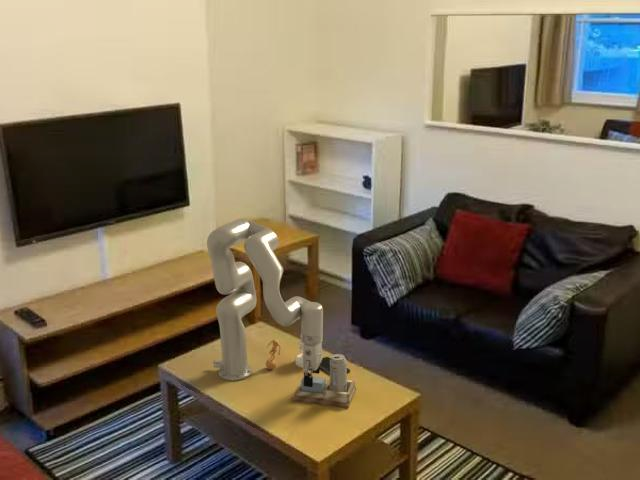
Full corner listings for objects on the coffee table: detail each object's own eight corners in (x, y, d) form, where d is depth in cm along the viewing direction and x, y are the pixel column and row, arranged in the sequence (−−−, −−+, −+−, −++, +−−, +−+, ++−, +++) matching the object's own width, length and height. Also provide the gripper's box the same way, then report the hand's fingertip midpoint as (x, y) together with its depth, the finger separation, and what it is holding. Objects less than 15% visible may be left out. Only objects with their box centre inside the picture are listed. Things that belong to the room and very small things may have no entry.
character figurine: (301, 355, 284) (301, 328, 281) (323, 360, 281) (322, 332, 277) (291, 365, 277) (291, 337, 273) (313, 370, 273) (313, 342, 269)
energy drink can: (349, 397, 252) (349, 359, 247) (333, 400, 250) (332, 362, 245) (343, 389, 257) (343, 352, 252) (328, 391, 255) (327, 354, 251)
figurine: (260, 366, 277) (259, 338, 273) (273, 361, 280) (272, 334, 276) (272, 374, 270) (271, 346, 267) (285, 369, 274) (284, 341, 270)
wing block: (301, 392, 255) (301, 380, 253) (305, 387, 259) (304, 375, 257) (322, 396, 253) (322, 383, 251) (325, 390, 256) (325, 378, 255)
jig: (292, 401, 252) (291, 390, 250) (302, 383, 263) (301, 372, 262) (348, 408, 247) (348, 396, 245) (355, 389, 259) (355, 378, 257)
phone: (327, 356, 282) (351, 370, 271) (327, 358, 283) (351, 372, 271) (311, 362, 278) (335, 376, 266) (311, 364, 278) (335, 379, 267)
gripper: (316, 349, 240) (315, 393, 246) (328, 327, 256) (327, 369, 262) (294, 346, 242) (295, 390, 247) (308, 325, 258) (308, 366, 263)
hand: (311, 379), depth 255 cm, fingers open, 9 cm apart
